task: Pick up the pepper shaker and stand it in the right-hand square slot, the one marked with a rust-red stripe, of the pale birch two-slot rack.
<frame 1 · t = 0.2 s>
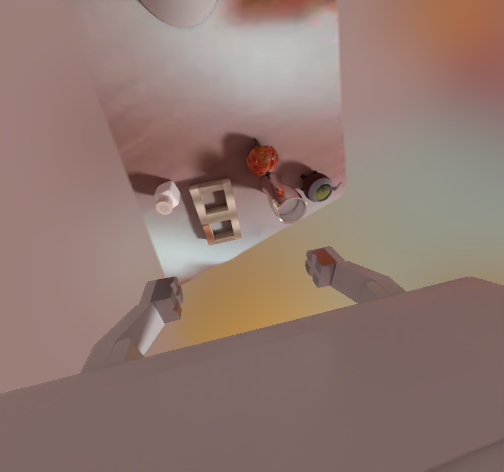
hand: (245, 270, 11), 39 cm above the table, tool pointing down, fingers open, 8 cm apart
beer glass: (270, 183, 51), on the table
mate gourd: (307, 179, 53), on the table
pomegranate: (257, 155, 45), on the table
pepper shaker: (169, 188, 45), on the table
slot rack: (217, 211, 52), on the table
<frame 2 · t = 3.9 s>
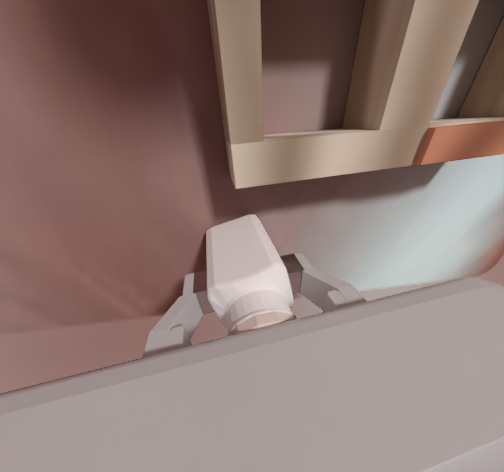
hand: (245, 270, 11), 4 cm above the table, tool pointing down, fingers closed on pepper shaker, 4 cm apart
pepper shaker: (237, 237, 15), on the table, touching gripper
slot rack: (377, 63, 10), on the table
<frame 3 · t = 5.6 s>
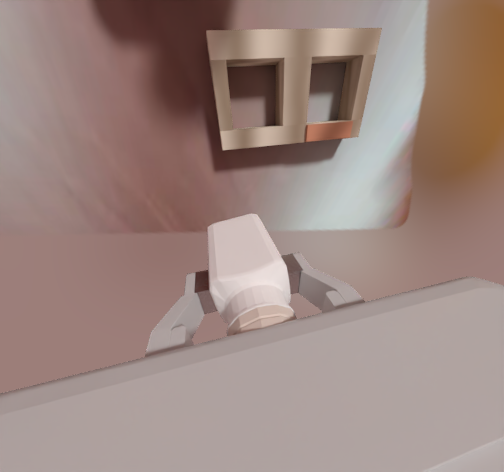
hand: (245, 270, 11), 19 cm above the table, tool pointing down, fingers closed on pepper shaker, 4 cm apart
pepper shaker: (236, 235, 15), point 15 cm above the table, touching gripper
slot rack: (287, 96, 23), on the table
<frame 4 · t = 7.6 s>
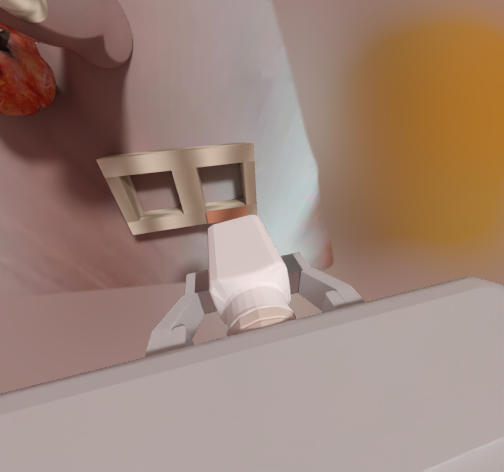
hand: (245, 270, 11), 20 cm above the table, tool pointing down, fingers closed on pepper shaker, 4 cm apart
beer glass: (97, 27, 18), on the table
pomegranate: (24, 72, 18), on the table
pepper shaker: (236, 236, 15), point 16 cm above the table, touching gripper
slot rack: (191, 185, 27), on the table
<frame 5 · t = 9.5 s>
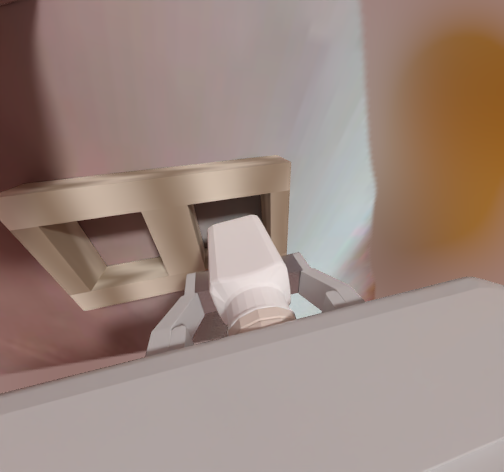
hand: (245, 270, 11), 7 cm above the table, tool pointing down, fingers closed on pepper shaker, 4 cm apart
pepper shaker: (236, 236, 15), point 3 cm above the table, touching gripper
slot rack: (181, 225, 17), on the table
when the fingers open (5 cm above the table, at t = 11.0 s): pepper shaker stays where it is, resting in slot rack.
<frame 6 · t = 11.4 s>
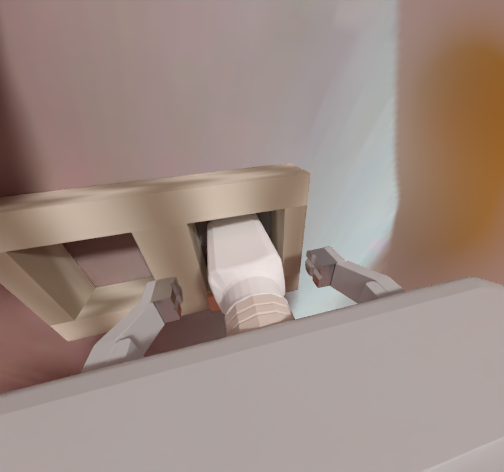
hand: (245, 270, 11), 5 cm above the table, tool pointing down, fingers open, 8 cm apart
pepper shaker: (235, 232, 15), resting in slot rack
slot rack: (179, 242, 15), on the table
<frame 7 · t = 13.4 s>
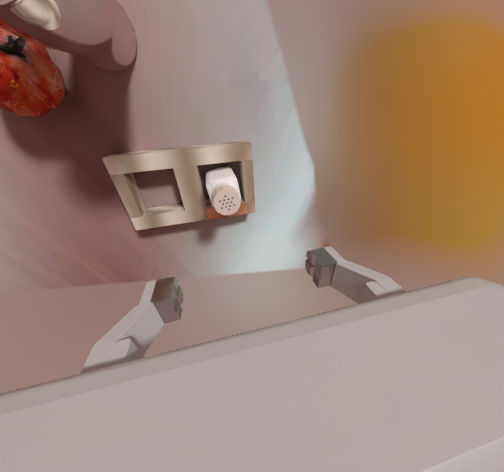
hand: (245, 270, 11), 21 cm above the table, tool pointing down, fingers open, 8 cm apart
beer glass: (104, 33, 19), on the table
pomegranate: (35, 75, 19), on the table
pepper shaker: (220, 180, 29), resting in slot rack
slot rack: (191, 183, 28), on the table
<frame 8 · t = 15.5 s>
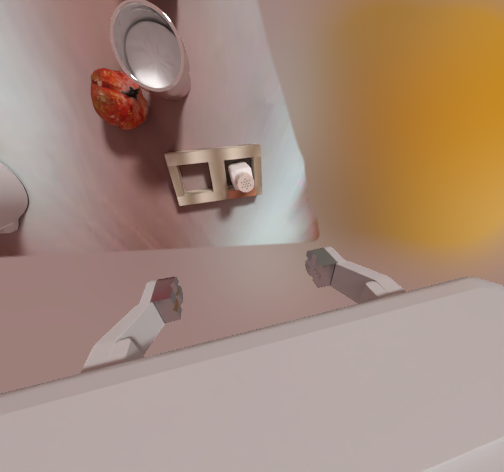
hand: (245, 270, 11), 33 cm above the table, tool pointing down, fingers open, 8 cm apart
beer glass: (171, 77, 30), on the table
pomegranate: (127, 103, 31), on the table
pepper shaker: (237, 171, 41), resting in slot rack
slot rack: (217, 173, 40), on the table
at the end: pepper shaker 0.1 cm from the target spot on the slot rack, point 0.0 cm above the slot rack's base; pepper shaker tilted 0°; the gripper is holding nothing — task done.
